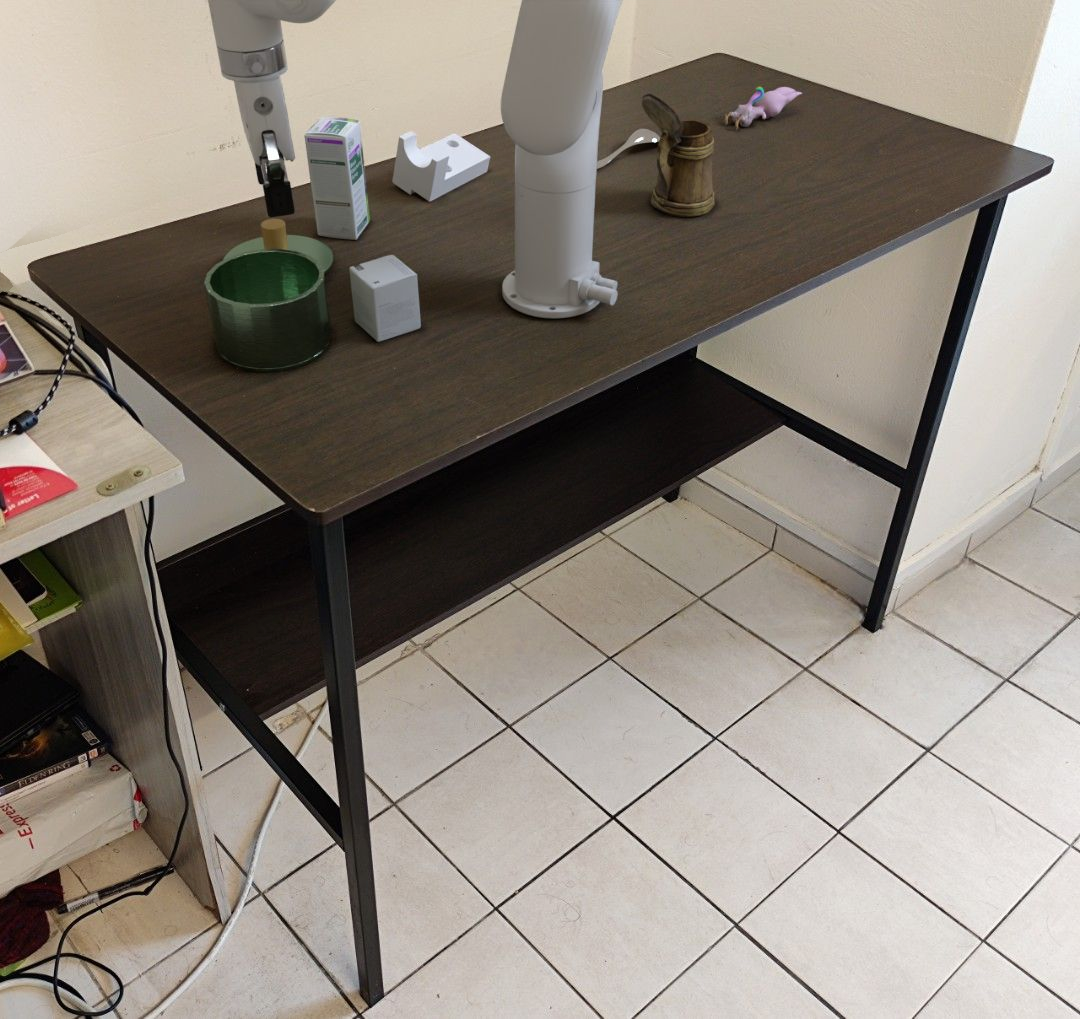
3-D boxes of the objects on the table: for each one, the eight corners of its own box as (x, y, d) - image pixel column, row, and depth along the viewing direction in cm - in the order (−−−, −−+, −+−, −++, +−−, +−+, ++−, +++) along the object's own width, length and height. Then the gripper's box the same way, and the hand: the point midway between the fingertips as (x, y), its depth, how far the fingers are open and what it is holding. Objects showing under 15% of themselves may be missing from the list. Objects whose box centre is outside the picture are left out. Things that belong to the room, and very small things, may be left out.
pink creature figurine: (743, 142, 190) (811, 107, 195) (743, 107, 185) (813, 72, 190) (717, 129, 193) (784, 95, 199) (716, 94, 189) (785, 61, 194)
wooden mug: (616, 212, 167) (623, 84, 155) (679, 184, 174) (691, 60, 162) (663, 234, 162) (674, 103, 150) (726, 204, 169) (742, 78, 157)
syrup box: (357, 241, 159) (347, 136, 150) (315, 236, 160) (303, 131, 150) (370, 222, 163) (362, 118, 154) (329, 217, 164) (318, 114, 155)
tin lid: (355, 260, 155) (351, 216, 151) (285, 306, 145) (279, 260, 141) (273, 233, 160) (267, 190, 156) (200, 276, 151) (191, 231, 147)
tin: (354, 332, 141) (347, 267, 136) (281, 384, 132) (271, 318, 127) (268, 301, 146) (259, 238, 141) (192, 350, 137) (179, 285, 132)
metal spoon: (575, 156, 171) (554, 146, 174) (573, 180, 173) (552, 169, 176) (671, 131, 182) (650, 121, 185) (668, 153, 184) (647, 144, 187)
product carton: (422, 329, 142) (418, 273, 137) (376, 343, 139) (372, 287, 134) (397, 307, 146) (393, 252, 141) (353, 321, 143) (347, 266, 138)
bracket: (428, 207, 169) (436, 161, 163) (392, 182, 171) (399, 136, 165) (485, 177, 177) (495, 132, 171) (450, 153, 179) (459, 109, 173)
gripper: (296, 79, 130) (317, 223, 141) (275, 31, 143) (296, 166, 154) (226, 87, 128) (253, 233, 139) (212, 38, 141) (238, 174, 152)
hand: (276, 198), depth 146 cm, fingers open, 9 cm apart
